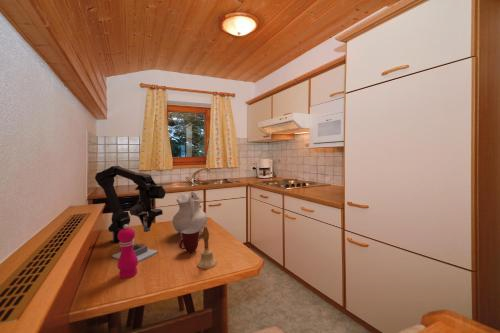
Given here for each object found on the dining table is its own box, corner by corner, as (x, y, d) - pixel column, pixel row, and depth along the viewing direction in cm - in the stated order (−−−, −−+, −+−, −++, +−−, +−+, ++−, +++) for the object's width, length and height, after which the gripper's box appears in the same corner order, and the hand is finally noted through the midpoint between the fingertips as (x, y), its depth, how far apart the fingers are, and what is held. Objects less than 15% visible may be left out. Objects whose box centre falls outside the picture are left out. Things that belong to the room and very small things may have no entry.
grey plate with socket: (112, 257, 109) (112, 249, 109) (135, 247, 119) (135, 240, 119) (135, 264, 102) (135, 256, 101) (158, 253, 112) (157, 246, 112)
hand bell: (207, 270, 95) (206, 231, 94) (193, 265, 99) (191, 228, 98) (220, 262, 102) (219, 225, 101) (206, 258, 106) (205, 223, 105)
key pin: (142, 231, 125) (141, 216, 124) (147, 229, 127) (146, 215, 127) (146, 232, 123) (145, 217, 123) (151, 230, 126) (150, 215, 125)
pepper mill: (123, 270, 96) (120, 222, 95) (141, 269, 97) (139, 221, 96) (114, 279, 89) (111, 227, 88) (134, 278, 90) (131, 226, 88)
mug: (188, 258, 106) (187, 236, 105) (174, 255, 110) (174, 234, 109) (203, 249, 115) (202, 229, 115) (190, 246, 119) (189, 227, 119)
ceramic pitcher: (214, 239, 132) (215, 194, 132) (179, 244, 121) (181, 196, 121) (199, 229, 150) (200, 190, 149) (167, 233, 139) (169, 191, 138)
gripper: (119, 199, 121) (121, 229, 122) (144, 202, 113) (146, 234, 114) (138, 196, 131) (139, 223, 132) (162, 198, 123) (164, 227, 124)
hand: (146, 227), depth 125 cm, fingers closed on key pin, 3 cm apart
